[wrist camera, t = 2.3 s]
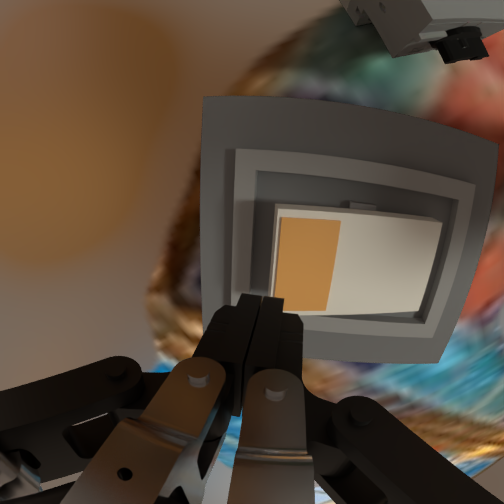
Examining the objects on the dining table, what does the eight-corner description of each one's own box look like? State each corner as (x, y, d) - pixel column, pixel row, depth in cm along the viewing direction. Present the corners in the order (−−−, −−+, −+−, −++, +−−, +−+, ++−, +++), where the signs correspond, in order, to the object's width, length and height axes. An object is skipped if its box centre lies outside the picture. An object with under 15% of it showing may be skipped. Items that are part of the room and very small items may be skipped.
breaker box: (460, 141, 18) (505, 144, 12) (419, 325, 25) (440, 369, 18) (228, 107, 21) (198, 94, 15) (223, 305, 28) (200, 348, 21)
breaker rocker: (431, 217, 15) (443, 223, 14) (410, 301, 17) (419, 312, 16) (275, 203, 15) (278, 209, 14) (267, 304, 17) (269, 316, 16)
